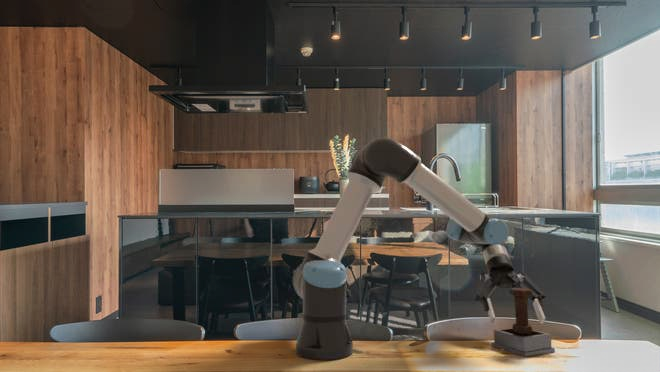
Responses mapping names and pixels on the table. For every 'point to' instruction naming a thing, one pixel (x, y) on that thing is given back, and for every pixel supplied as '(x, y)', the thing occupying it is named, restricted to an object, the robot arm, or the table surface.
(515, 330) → the brown flared column
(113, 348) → the table surface
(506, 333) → the rectangular open box
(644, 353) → the table surface
